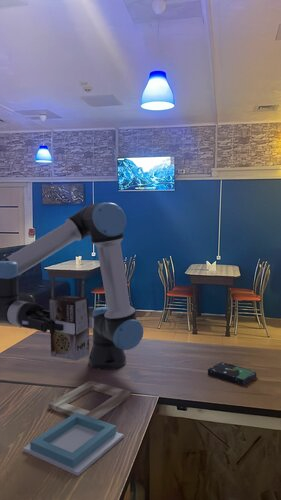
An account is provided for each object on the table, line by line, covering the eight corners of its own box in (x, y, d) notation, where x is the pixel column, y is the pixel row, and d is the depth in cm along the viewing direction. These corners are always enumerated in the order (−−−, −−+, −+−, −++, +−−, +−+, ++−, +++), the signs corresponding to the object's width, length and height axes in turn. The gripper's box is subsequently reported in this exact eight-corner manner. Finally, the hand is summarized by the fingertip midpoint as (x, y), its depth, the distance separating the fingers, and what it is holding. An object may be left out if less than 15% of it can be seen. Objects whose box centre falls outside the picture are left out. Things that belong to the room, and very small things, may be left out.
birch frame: (48, 408, 115) (48, 403, 115) (90, 384, 132) (90, 380, 132) (92, 423, 106) (91, 418, 106) (130, 396, 123) (130, 391, 123)
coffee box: (90, 354, 105) (90, 297, 103) (76, 361, 99) (75, 301, 98) (64, 349, 109) (63, 294, 108) (49, 356, 103) (48, 298, 102)
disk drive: (207, 376, 140) (244, 387, 130) (207, 369, 140) (244, 379, 130) (221, 368, 148) (256, 378, 138) (221, 361, 148) (256, 370, 138)
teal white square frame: (23, 450, 93) (23, 440, 93) (72, 419, 108) (72, 409, 108) (78, 476, 84) (78, 464, 84) (123, 437, 99) (123, 427, 99)
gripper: (51, 320, 121) (106, 331, 109) (-2, 334, 105) (56, 349, 92) (51, 297, 121) (106, 305, 108) (-2, 308, 104) (56, 319, 92)
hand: (83, 325), depth 100 cm, fingers closed on coffee box, 7 cm apart
